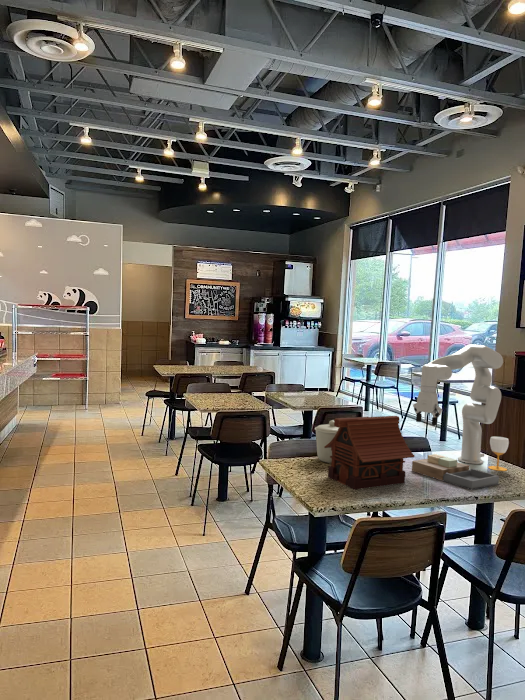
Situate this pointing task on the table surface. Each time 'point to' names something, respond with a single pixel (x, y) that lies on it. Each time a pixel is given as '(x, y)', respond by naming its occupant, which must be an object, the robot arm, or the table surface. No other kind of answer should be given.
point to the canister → (325, 440)
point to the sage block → (447, 462)
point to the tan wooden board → (436, 468)
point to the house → (368, 452)
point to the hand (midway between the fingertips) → (426, 423)
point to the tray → (471, 479)
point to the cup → (498, 450)
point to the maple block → (434, 458)
